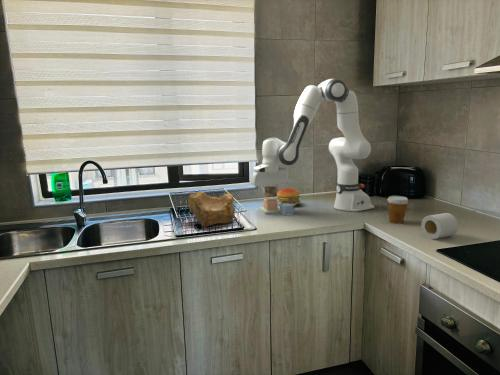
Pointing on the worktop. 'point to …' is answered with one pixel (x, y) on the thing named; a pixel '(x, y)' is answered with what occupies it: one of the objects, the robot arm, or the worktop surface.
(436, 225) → the toilet paper
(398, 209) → the disposable coffee cup
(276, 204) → the terracotta block
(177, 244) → the worktop surface
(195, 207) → the rough brown rock
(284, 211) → the slate blue block
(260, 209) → the baseplate
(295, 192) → the burger
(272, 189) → the walnut block
